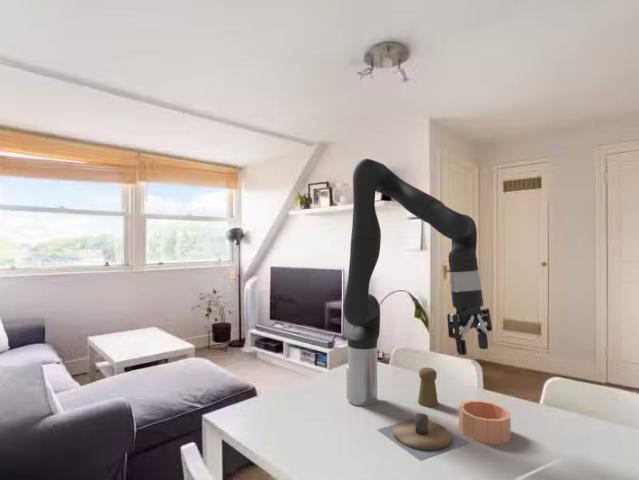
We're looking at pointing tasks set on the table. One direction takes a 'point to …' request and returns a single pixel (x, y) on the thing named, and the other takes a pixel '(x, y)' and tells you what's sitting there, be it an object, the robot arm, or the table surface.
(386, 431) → the mat
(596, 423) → the table surface
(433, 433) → the lid
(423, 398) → the cork
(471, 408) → the bowl
